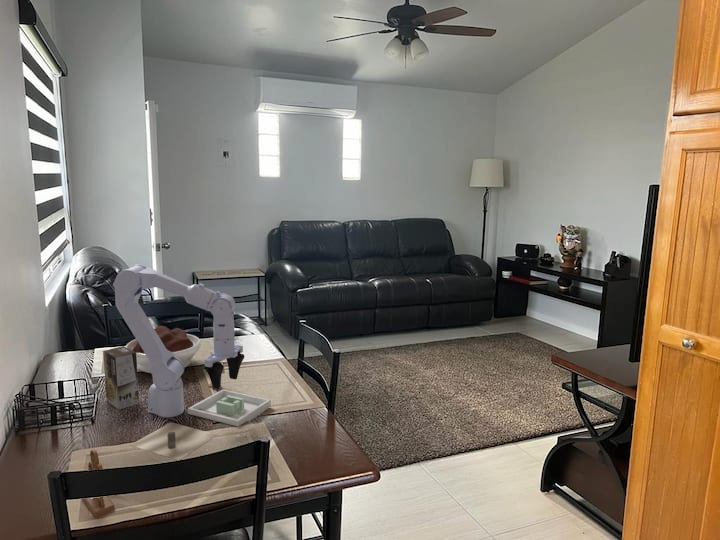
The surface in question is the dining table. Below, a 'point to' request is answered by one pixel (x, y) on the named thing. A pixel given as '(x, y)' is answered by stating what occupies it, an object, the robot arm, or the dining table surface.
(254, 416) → the tray
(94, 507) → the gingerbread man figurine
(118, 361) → the coffee box
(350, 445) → the dining table surface
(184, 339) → the bowl of brown treats
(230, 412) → the green block stack
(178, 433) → the board
